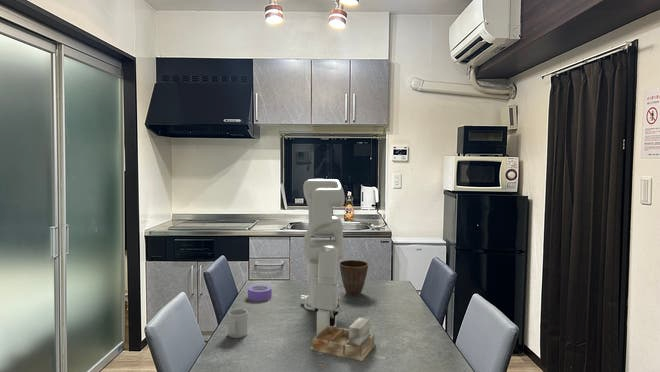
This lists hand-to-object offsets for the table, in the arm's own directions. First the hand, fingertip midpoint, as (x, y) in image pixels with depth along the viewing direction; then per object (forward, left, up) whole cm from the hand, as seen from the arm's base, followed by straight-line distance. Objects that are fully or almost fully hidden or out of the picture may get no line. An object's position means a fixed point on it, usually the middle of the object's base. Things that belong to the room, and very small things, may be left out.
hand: (326, 325), depth 164 cm
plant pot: (-8, +50, -2) cm, 51 cm away
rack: (+12, -11, -2) cm, 16 cm away
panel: (0, 0, -2) cm, 2 cm away
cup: (-29, -20, -3) cm, 35 cm away
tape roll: (-48, +23, -3) cm, 53 cm away
